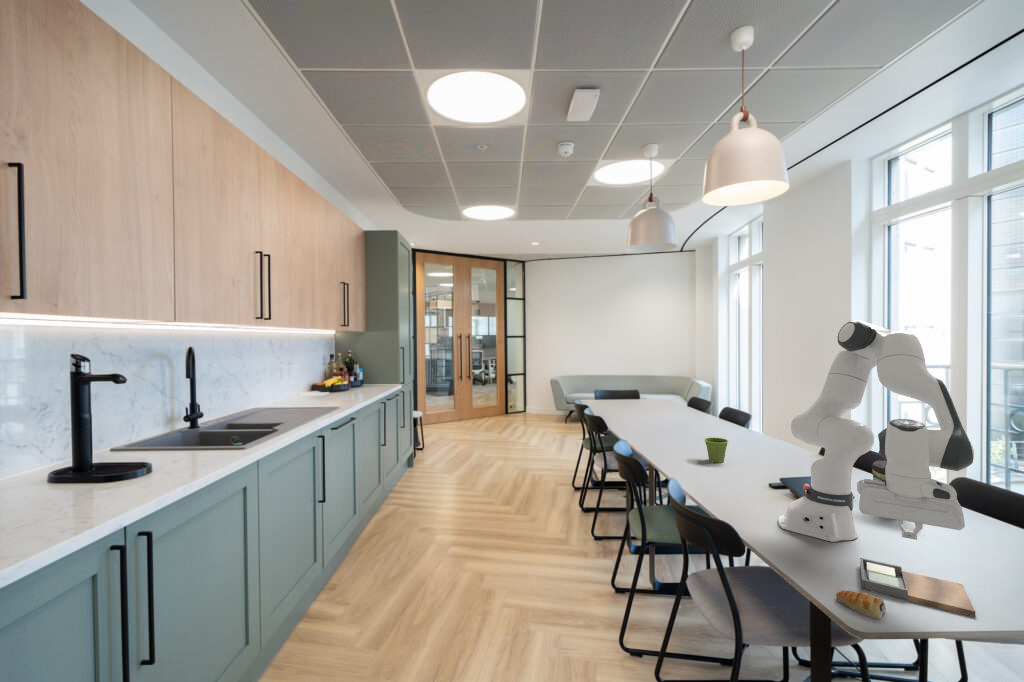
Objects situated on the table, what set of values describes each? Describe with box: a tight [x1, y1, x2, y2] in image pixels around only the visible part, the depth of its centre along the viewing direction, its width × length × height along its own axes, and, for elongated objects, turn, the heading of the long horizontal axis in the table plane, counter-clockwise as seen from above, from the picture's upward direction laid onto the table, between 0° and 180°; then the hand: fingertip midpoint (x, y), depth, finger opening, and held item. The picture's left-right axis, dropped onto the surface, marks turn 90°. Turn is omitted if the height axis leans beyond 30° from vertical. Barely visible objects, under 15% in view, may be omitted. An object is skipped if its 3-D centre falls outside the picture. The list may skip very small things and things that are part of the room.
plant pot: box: [703, 436, 730, 464], centre depth 237 cm, size 12×12×11 cm
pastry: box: [836, 589, 887, 620], centre depth 111 cm, size 9×7×4 cm
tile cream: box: [867, 562, 896, 578], centre depth 124 cm, size 6×5×2 cm
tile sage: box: [868, 572, 899, 587], centre depth 119 cm, size 6×5×2 cm
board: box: [902, 570, 976, 618], centre depth 115 cm, size 12×14×1 cm
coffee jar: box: [871, 460, 887, 486], centre depth 166 cm, size 10×8×19 cm
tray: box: [859, 557, 908, 601], centre depth 121 cm, size 9×14×2 cm, turn 144°
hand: (909, 537), depth 115 cm, fingers closed
